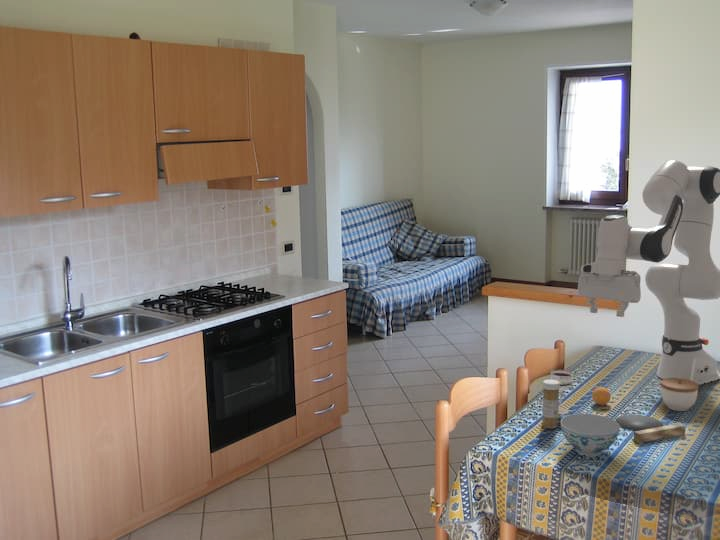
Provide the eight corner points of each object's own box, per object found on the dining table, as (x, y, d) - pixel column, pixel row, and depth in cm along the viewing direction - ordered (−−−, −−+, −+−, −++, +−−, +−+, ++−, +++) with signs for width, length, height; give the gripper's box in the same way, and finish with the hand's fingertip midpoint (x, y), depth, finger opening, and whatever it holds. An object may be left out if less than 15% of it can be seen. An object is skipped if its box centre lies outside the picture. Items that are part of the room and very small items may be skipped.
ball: (602, 400, 243) (603, 383, 242) (614, 406, 238) (614, 389, 237) (587, 403, 241) (588, 386, 240) (599, 408, 236) (600, 391, 235)
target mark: (641, 412, 232) (641, 412, 232) (673, 427, 220) (673, 427, 220) (605, 418, 228) (605, 418, 227) (636, 434, 216) (636, 433, 216)
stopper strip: (679, 431, 217) (680, 423, 217) (684, 434, 215) (685, 425, 215) (633, 440, 212) (634, 431, 211) (638, 442, 210) (639, 434, 209)
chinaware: (606, 439, 212) (608, 413, 211) (627, 462, 197) (628, 434, 196) (552, 441, 212) (553, 414, 210) (569, 464, 197) (570, 435, 196)
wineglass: (575, 410, 234) (577, 372, 232) (564, 416, 229) (566, 378, 227) (555, 405, 239) (557, 368, 237) (544, 411, 234) (545, 373, 232)
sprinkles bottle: (550, 422, 225) (552, 377, 223) (561, 427, 221) (563, 382, 219) (538, 424, 223) (539, 380, 221) (548, 430, 219) (550, 384, 217)
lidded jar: (700, 414, 230) (702, 384, 229) (662, 412, 232) (664, 382, 231) (692, 402, 241) (694, 373, 239) (656, 400, 243) (658, 371, 241)
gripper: (647, 272, 226) (643, 319, 226) (589, 266, 242) (585, 310, 243) (634, 271, 222) (630, 319, 223) (576, 266, 238) (572, 310, 239)
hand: (606, 314), depth 233 cm, fingers open, 8 cm apart
